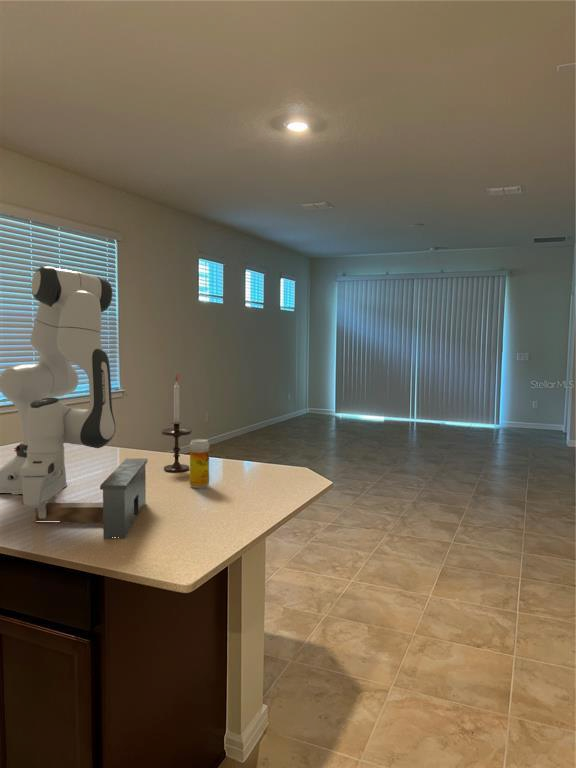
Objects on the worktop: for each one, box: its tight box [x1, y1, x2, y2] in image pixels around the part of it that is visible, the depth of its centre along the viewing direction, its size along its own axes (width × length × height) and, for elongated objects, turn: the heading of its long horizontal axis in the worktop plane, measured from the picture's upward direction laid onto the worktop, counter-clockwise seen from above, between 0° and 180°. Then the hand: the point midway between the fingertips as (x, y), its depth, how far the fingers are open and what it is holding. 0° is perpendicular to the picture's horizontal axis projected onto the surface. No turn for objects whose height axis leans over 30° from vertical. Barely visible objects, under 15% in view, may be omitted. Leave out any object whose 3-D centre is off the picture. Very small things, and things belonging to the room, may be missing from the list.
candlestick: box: [160, 373, 193, 474], centre depth 198 cm, size 11×11×35 cm
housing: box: [99, 458, 148, 539], centre depth 143 cm, size 6×29×13 cm, turn 5°
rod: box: [34, 502, 103, 523], centre depth 143 cm, size 20×4×4 cm, turn 94°
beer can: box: [189, 438, 210, 489], centre depth 177 cm, size 6×6×15 cm
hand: (47, 514), depth 142 cm, fingers closed on rod, 4 cm apart
